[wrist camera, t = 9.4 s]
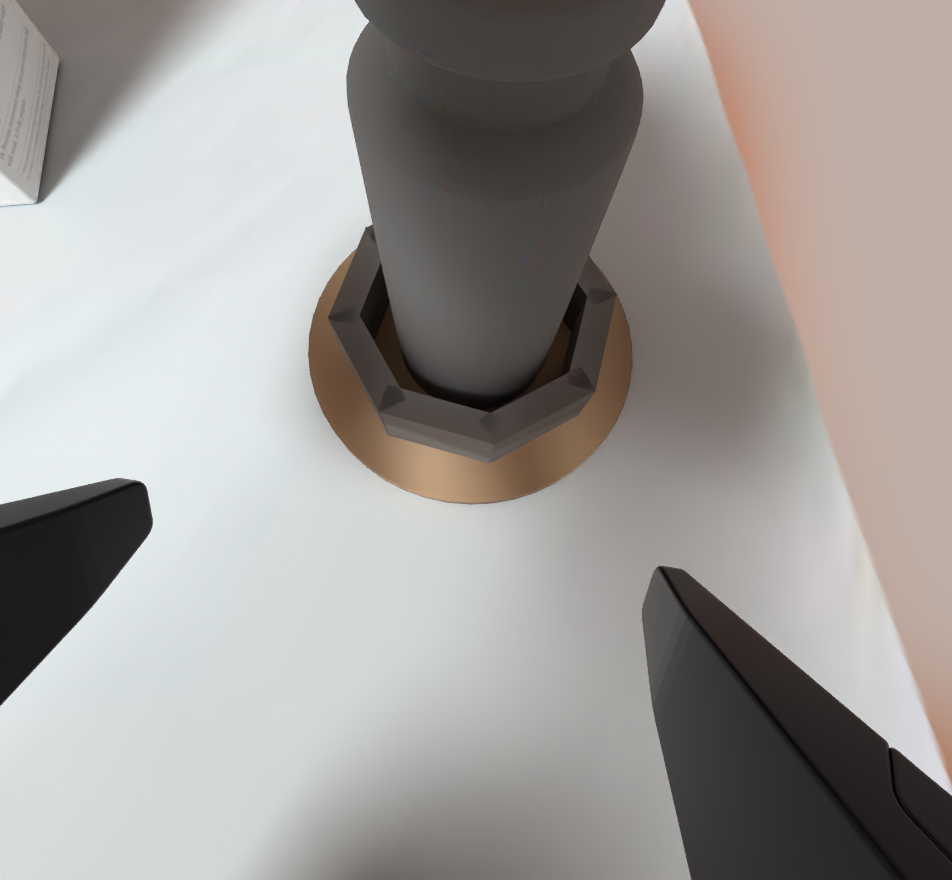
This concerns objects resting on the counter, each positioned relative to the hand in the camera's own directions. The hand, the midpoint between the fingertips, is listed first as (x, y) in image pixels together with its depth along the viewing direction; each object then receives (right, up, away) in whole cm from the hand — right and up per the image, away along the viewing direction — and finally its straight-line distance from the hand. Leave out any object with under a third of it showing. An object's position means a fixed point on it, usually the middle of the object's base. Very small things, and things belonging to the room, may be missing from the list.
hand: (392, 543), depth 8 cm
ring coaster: (+1, +6, +12) cm, 13 cm away
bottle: (+1, +6, +11) cm, 13 cm away
